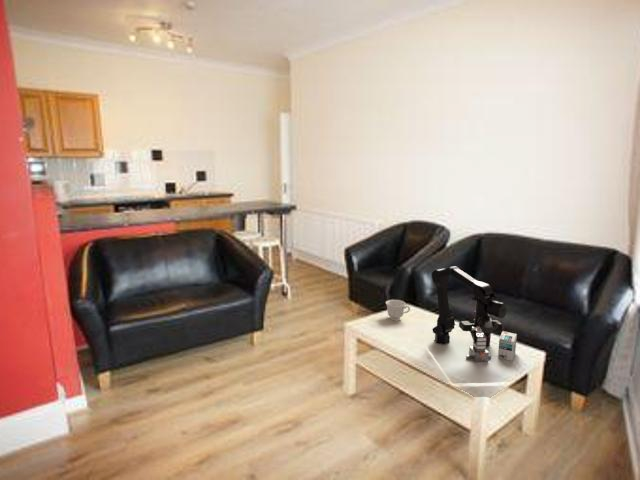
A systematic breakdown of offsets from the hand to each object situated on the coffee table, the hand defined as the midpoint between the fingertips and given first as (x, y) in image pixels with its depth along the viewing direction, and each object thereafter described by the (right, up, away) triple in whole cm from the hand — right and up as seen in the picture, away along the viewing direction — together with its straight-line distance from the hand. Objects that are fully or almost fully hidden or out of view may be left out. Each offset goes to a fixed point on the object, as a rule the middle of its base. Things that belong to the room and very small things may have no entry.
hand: (479, 342), depth 186 cm
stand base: (0, -9, +2) cm, 9 cm away
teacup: (-28, 0, +53) cm, 60 cm away
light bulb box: (+15, -9, +6) cm, 18 cm away
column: (0, -6, +1) cm, 6 cm away
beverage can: (+8, -6, +17) cm, 20 cm away
